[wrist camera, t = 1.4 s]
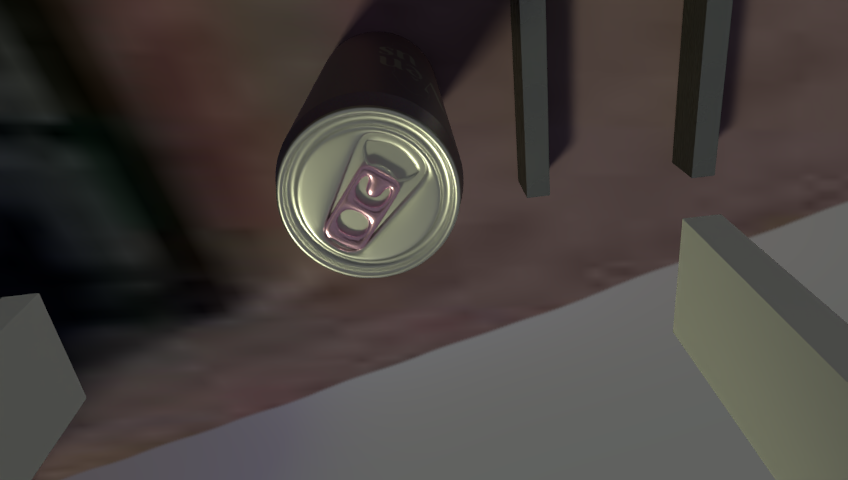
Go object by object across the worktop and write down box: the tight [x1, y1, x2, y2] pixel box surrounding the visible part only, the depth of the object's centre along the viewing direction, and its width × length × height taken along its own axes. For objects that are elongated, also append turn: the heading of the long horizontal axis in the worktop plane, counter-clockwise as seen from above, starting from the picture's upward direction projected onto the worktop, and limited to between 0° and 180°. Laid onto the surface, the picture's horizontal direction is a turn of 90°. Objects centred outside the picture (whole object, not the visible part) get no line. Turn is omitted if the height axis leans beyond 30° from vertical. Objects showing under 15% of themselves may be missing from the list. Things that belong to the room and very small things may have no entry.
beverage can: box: [276, 32, 463, 278], centre depth 25 cm, size 6×6×15 cm
